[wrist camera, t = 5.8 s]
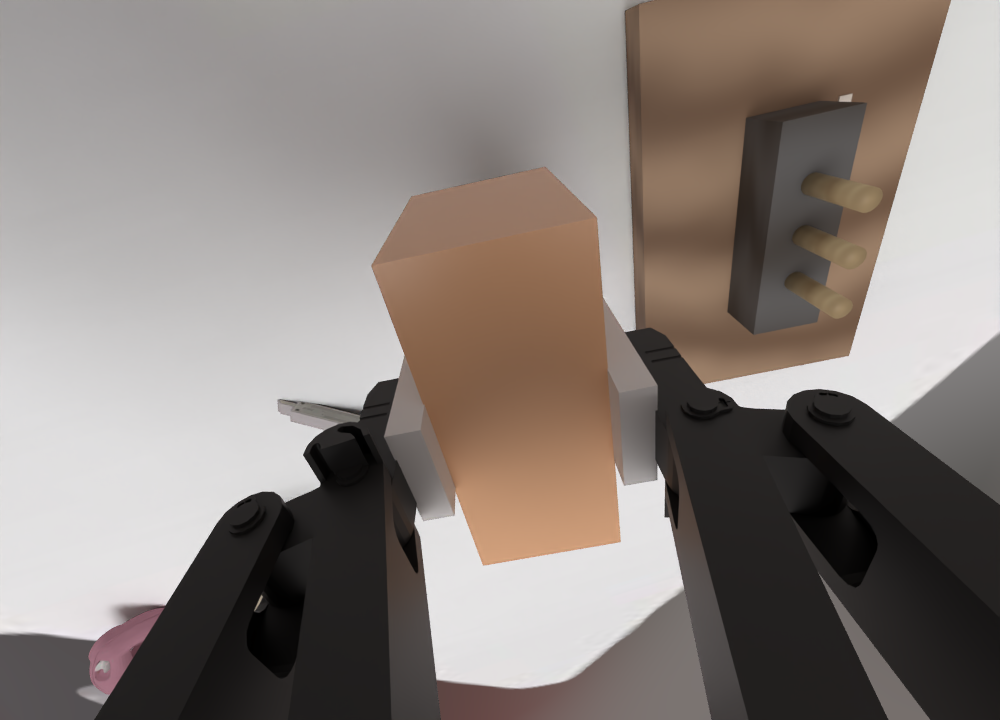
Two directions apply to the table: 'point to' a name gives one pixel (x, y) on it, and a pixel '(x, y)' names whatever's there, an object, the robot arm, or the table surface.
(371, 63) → the table surface
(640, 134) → the board
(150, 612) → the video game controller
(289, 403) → the caliper
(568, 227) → the block
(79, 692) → the table surface
